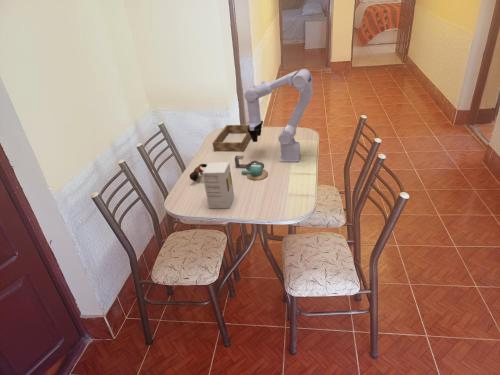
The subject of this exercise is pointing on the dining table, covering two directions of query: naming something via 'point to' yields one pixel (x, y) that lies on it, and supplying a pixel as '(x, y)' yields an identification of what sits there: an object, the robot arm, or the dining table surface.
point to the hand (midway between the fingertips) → (256, 138)
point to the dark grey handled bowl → (246, 164)
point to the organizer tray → (232, 146)
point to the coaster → (263, 176)
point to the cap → (254, 170)
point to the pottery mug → (197, 172)
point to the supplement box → (218, 185)
